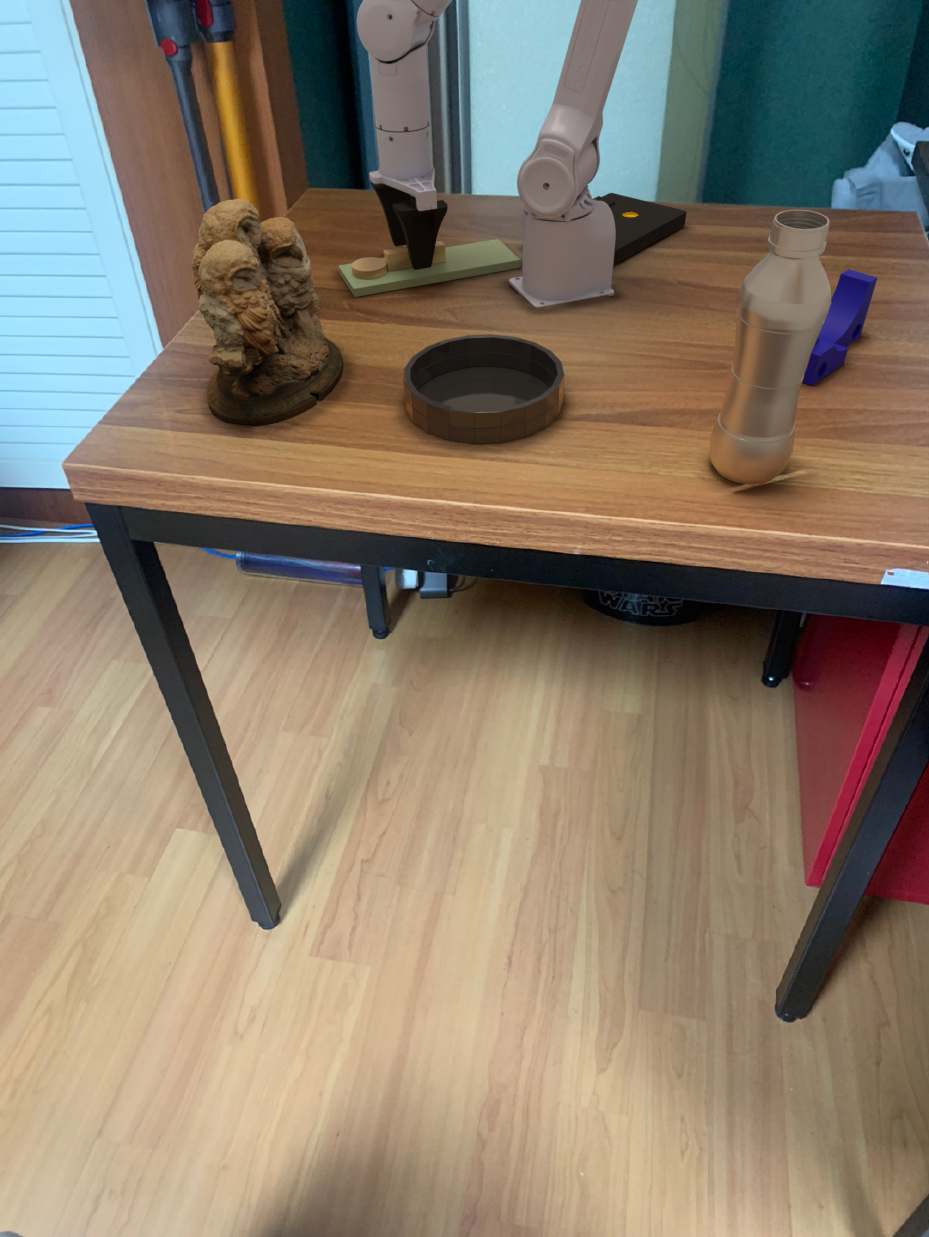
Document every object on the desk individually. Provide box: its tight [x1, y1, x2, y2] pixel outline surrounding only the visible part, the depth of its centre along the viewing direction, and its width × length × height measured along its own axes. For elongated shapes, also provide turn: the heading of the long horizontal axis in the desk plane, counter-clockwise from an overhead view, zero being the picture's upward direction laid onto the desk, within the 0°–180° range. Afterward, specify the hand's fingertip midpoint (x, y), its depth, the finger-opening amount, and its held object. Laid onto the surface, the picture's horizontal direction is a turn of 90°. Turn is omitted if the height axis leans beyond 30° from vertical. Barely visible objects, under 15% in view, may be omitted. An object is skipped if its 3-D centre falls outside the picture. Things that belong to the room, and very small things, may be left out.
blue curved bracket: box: [802, 268, 878, 387], centre depth 85 cm, size 12×4×6 cm, turn 135°
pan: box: [403, 333, 565, 445], centre depth 80 cm, size 14×14×4 cm
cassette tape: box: [592, 192, 688, 266], centre depth 109 cm, size 18×12×2 cm, turn 139°
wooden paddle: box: [351, 240, 446, 280], centre depth 102 cm, size 11×4×2 cm, turn 110°
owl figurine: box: [191, 198, 344, 427], centre depth 79 cm, size 18×12×17 cm, turn 169°
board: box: [338, 238, 521, 298], centre depth 104 cm, size 20×7×1 cm, turn 110°
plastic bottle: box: [709, 209, 832, 486], centre depth 66 cm, size 6×7×20 cm
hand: (412, 255), depth 102 cm, fingers open, 7 cm apart
